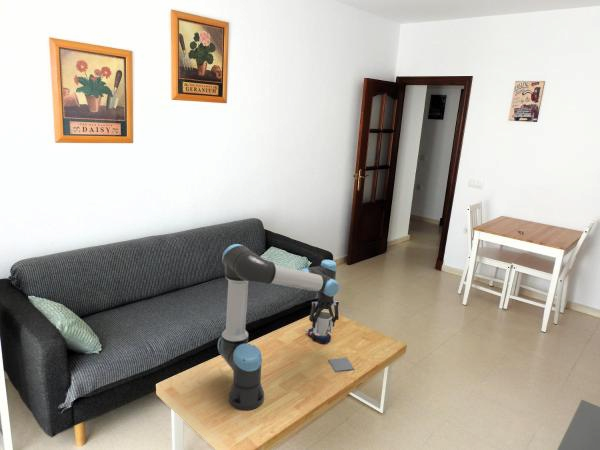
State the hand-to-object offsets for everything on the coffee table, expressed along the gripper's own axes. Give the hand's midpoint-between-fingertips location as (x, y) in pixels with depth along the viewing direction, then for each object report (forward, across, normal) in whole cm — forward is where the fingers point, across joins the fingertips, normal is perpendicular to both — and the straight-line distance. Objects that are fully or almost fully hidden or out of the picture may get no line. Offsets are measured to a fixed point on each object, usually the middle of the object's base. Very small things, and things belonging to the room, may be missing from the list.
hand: (322, 332), depth 222 cm
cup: (+1, 0, 0) cm, 1 cm away
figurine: (+14, +4, +18) cm, 23 cm away
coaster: (+13, +8, -10) cm, 18 cm away
